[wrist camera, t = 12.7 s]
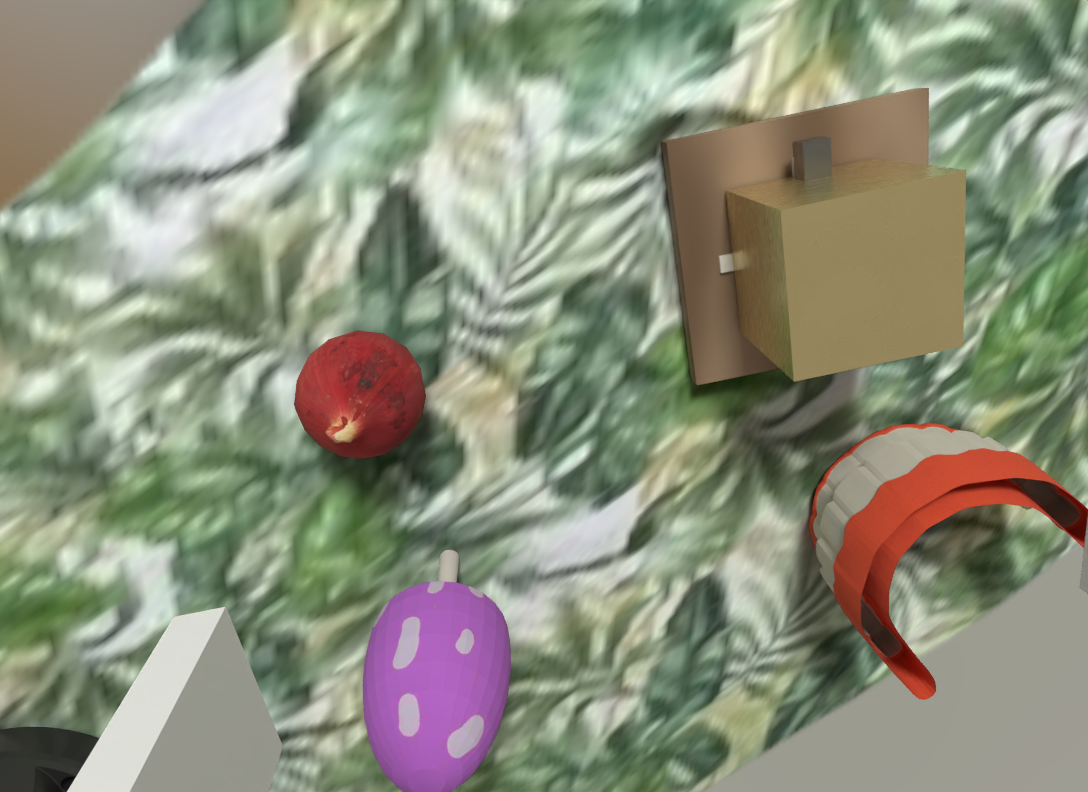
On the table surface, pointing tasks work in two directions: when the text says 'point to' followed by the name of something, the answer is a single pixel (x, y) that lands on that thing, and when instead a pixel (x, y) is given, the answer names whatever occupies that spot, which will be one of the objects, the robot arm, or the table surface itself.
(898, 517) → the toy
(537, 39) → the table surface
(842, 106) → the flat board
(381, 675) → the toy
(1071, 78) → the table surface
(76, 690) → the table surface
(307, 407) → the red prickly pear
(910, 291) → the block with peg
